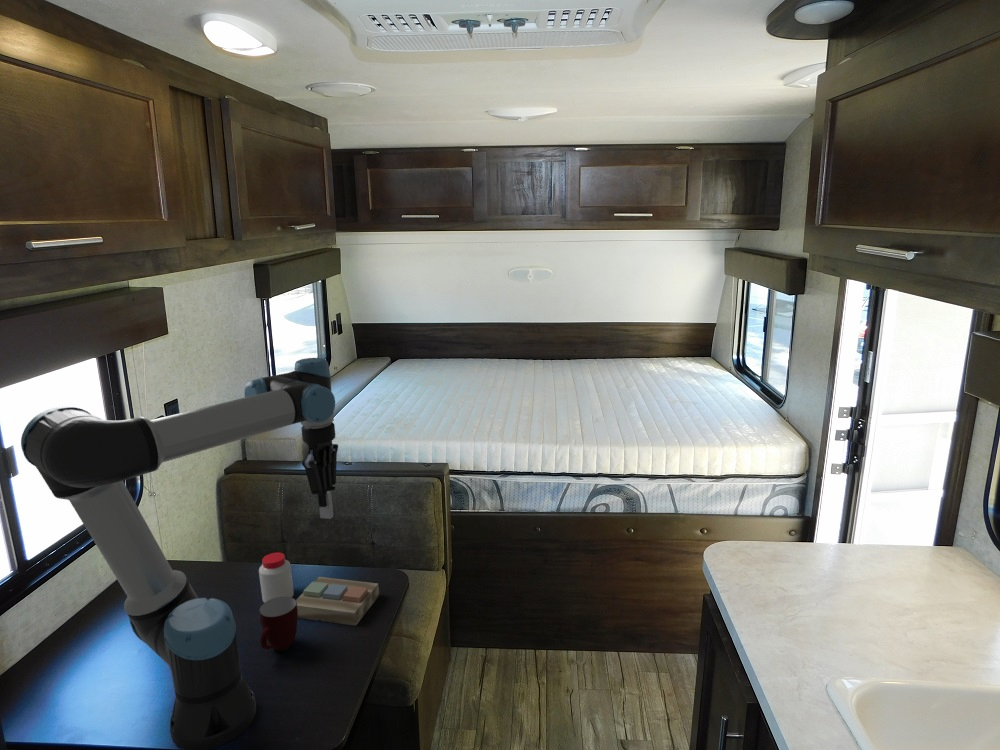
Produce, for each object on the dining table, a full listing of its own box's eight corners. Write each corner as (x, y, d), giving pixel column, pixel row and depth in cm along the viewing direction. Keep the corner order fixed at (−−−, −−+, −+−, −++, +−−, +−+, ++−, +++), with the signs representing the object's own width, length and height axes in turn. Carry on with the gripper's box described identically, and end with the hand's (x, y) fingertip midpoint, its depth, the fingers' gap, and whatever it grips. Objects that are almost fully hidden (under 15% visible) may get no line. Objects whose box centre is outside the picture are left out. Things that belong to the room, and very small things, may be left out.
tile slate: (340, 606, 156) (339, 595, 156) (324, 604, 157) (323, 593, 157) (348, 596, 160) (347, 585, 160) (332, 594, 161) (331, 583, 161)
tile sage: (320, 603, 158) (319, 592, 157) (304, 601, 159) (303, 590, 158) (329, 593, 162) (328, 583, 161) (313, 592, 163) (312, 581, 162)
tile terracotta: (360, 608, 155) (359, 597, 154) (344, 606, 156) (343, 595, 155) (368, 598, 159) (367, 587, 158) (352, 596, 160) (351, 586, 159)
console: (355, 625, 151) (354, 612, 150) (292, 617, 155) (291, 604, 154) (379, 595, 163) (378, 583, 162) (320, 588, 167) (318, 576, 167)
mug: (285, 665, 138) (280, 625, 135) (251, 663, 139) (245, 622, 137) (307, 635, 148) (302, 597, 146) (275, 633, 149) (270, 595, 147)
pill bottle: (261, 592, 166) (256, 554, 164) (291, 585, 170) (287, 547, 167) (263, 607, 160) (258, 568, 157) (295, 599, 163) (291, 560, 160)
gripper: (317, 433, 141) (327, 530, 146) (345, 416, 153) (353, 507, 159) (288, 431, 143) (298, 527, 148) (317, 415, 155) (326, 504, 160)
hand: (326, 516), depth 153 cm, fingers closed
